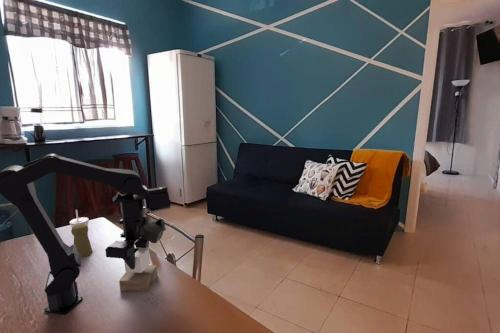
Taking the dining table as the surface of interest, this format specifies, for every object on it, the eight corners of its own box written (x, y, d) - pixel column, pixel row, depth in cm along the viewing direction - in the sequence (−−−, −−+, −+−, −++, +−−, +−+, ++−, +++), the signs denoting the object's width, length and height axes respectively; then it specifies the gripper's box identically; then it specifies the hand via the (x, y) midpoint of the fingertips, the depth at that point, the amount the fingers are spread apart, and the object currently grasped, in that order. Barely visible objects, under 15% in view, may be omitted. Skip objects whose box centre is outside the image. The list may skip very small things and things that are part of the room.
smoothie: (68, 246, 109) (63, 211, 106) (82, 238, 115) (78, 205, 112) (82, 248, 107) (76, 213, 104) (95, 240, 113) (91, 207, 110)
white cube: (141, 272, 82) (139, 256, 80) (125, 271, 82) (123, 255, 81) (150, 263, 86) (148, 248, 85) (135, 261, 87) (133, 247, 86)
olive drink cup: (77, 259, 99) (73, 230, 97) (70, 254, 102) (66, 226, 100) (95, 252, 104) (92, 224, 101) (88, 248, 107) (84, 220, 105)
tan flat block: (148, 293, 82) (146, 280, 81) (120, 292, 82) (119, 280, 81) (157, 276, 89) (156, 265, 89) (132, 276, 90) (131, 265, 89)
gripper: (141, 230, 70) (146, 286, 74) (173, 204, 88) (176, 250, 92) (101, 227, 72) (107, 281, 76) (140, 203, 90) (144, 247, 94)
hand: (137, 264), depth 84 cm, fingers closed on white cube, 5 cm apart
